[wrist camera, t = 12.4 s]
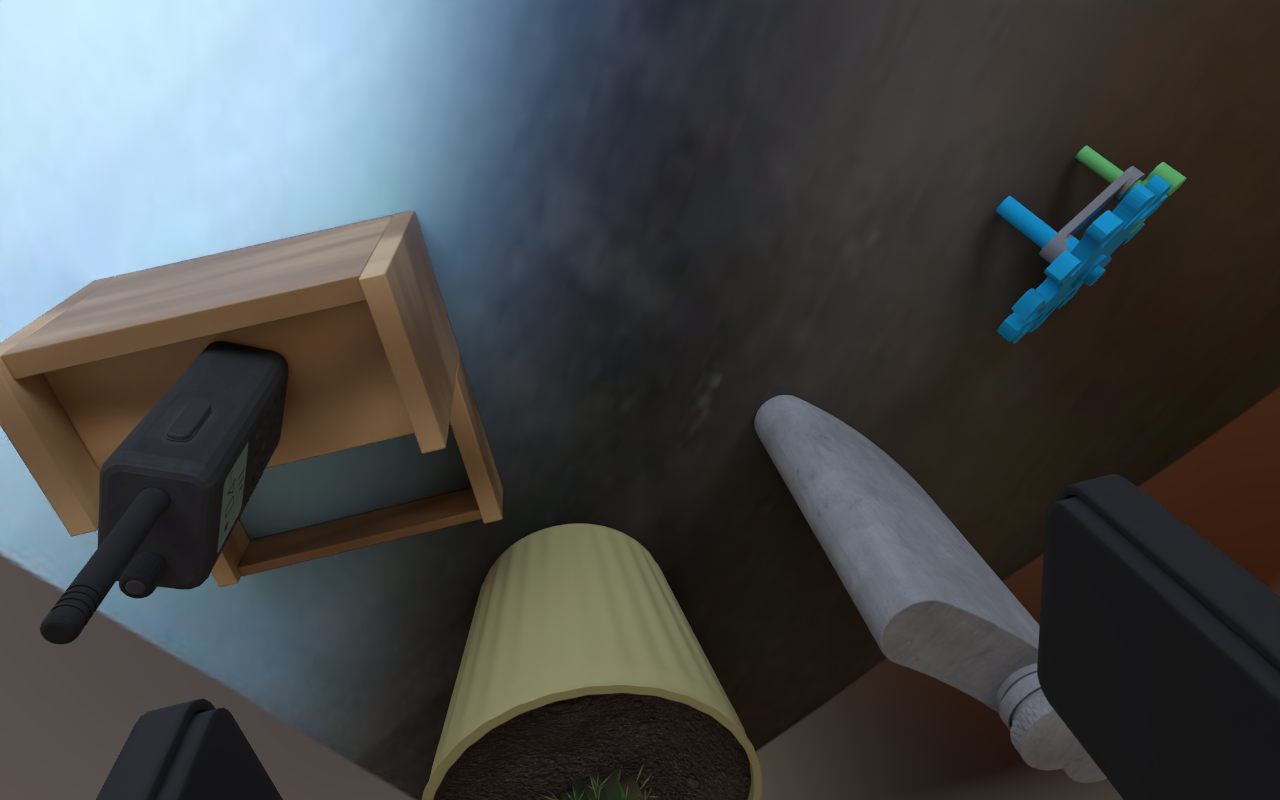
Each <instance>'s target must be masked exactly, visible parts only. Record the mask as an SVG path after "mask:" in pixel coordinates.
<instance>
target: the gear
mask: <svg viewBox="0 0 1280 800" xmlns="http://www.w3.org/2000/svg"><path fill="white" fill-rule="evenodd" d="M1076 159H1078V160H1079V161H1081V162H1082V163H1083V164H1085V165H1086V166H1087V167H1089V168H1090V169H1091V170H1093V171H1094V172H1096V173H1097V174H1098V175H1100V176H1101V177H1102V178H1104V179H1105V180H1106V181H1108V182H1109V183H1111V185H1110V186H1109V187H1107V188H1106V189H1105V190H1104V191H1103V192H1102V193H1101V194H1100V195H1099V196H1098V197H1096V198H1095V199H1094V200H1093V201H1092V202H1091V203H1090V204H1089V205H1088V206H1087V207H1086V208H1084V209H1083V210H1082V211H1081V212H1080V213H1079V214H1078V215H1077V216H1076V217H1075V218H1073V219H1072V220H1071V221H1070V222H1069V223H1068V224H1067V225H1066V226H1065V227H1064V228H1062V229H1061V230H1060V231H1059V232H1058V233H1057V232H1056V231H1055V230H1054V229H1052V228H1051V227H1050V226H1048V225H1047V224H1046V223H1045V222H1043V221H1042V220H1041V219H1039V218H1038V217H1037V216H1036V215H1034V214H1033V213H1032V212H1030V211H1029V210H1028V209H1027V208H1025V207H1024V206H1023V205H1021V204H1020V203H1019V202H1018V201H1016V200H1015V199H1014V198H1012V197H1011V196H1009V197H1007V198H1006V199H1005V200H1004V201H1003V202H1002V203H1001V204H1000V205H999V207H998V208H997V210H996V213H998V214H999V215H1000V216H1001V217H1003V218H1004V219H1005V220H1007V221H1008V222H1009V223H1010V224H1012V225H1013V226H1014V227H1015V228H1017V229H1018V230H1019V231H1020V232H1022V233H1023V234H1024V235H1025V236H1027V237H1028V238H1029V239H1030V240H1032V241H1033V242H1034V243H1035V244H1037V245H1038V246H1039V247H1040V248H1042V250H1041V251H1040V253H1039V255H1040V256H1041V257H1042V258H1043V259H1045V260H1046V261H1047V262H1048V263H1050V265H1049V266H1048V267H1047V268H1046V270H1045V271H1044V273H1045V274H1046V275H1047V276H1048V277H1047V278H1046V279H1045V281H1044V282H1043V283H1042V284H1041V285H1040V286H1039V287H1038V288H1037V289H1036V290H1034V289H1033V288H1031V289H1030V290H1028V291H1027V292H1026V293H1025V294H1024V295H1023V296H1022V297H1021V298H1020V299H1019V300H1018V301H1017V303H1016V304H1015V305H1014V306H1013V307H1012V308H1011V309H1012V310H1013V311H1014V313H1013V314H1011V315H1010V316H1009V317H1008V318H1007V319H1006V320H1004V322H1003V323H1002V324H1001V325H1000V327H999V328H998V330H997V332H998V333H999V334H1000V335H1001V336H1003V337H1004V338H1005V339H1006V340H1007V341H1008V342H1010V341H1011V342H1012V343H1013V344H1015V343H1017V342H1018V341H1019V340H1020V339H1021V338H1022V337H1023V336H1024V335H1025V334H1026V333H1027V332H1028V331H1029V332H1032V331H1034V330H1035V329H1037V328H1038V327H1039V326H1040V325H1041V324H1042V323H1043V322H1044V321H1045V320H1046V319H1047V317H1048V316H1049V315H1050V314H1051V313H1052V312H1053V311H1054V309H1055V308H1057V309H1059V308H1061V307H1062V306H1063V305H1064V304H1066V303H1067V302H1068V301H1069V300H1070V299H1071V298H1072V297H1073V296H1074V295H1075V294H1076V293H1077V291H1078V289H1079V288H1080V286H1081V285H1082V284H1083V283H1086V284H1087V285H1088V286H1091V285H1092V284H1093V283H1094V282H1096V281H1097V280H1098V279H1099V278H1100V277H1101V276H1102V275H1103V274H1104V272H1105V271H1106V270H1105V269H1104V267H1105V266H1106V265H1107V264H1108V263H1109V262H1110V261H1111V259H1112V258H1111V257H1110V255H1111V254H1112V253H1113V251H1114V250H1115V249H1116V248H1117V247H1118V246H1119V245H1120V244H1121V243H1123V244H1126V243H1127V242H1128V241H1129V240H1130V239H1131V238H1132V237H1133V236H1134V235H1135V234H1136V233H1137V232H1138V231H1139V230H1140V229H1141V228H1142V227H1143V226H1144V225H1145V224H1144V223H1143V222H1144V221H1145V219H1146V218H1147V217H1149V216H1150V215H1151V214H1152V213H1153V212H1154V211H1156V210H1157V208H1158V207H1159V206H1160V205H1161V204H1162V203H1163V202H1164V200H1165V199H1166V198H1167V197H1168V196H1170V195H1171V194H1172V193H1173V192H1174V191H1176V190H1177V189H1178V188H1179V187H1180V186H1181V185H1182V183H1183V182H1184V181H1185V180H1186V177H1184V176H1183V175H1181V174H1180V173H1178V172H1177V171H1176V170H1174V169H1173V168H1171V167H1170V166H1169V165H1167V164H1166V163H1164V162H1162V163H1161V164H1159V165H1158V166H1157V167H1156V168H1155V169H1154V170H1153V171H1152V172H1151V173H1150V174H1149V176H1148V177H1147V178H1146V179H1145V180H1144V181H1143V182H1142V181H1141V180H1142V179H1143V178H1144V176H1145V174H1144V173H1142V172H1141V171H1139V170H1138V169H1137V168H1135V167H1134V166H1131V167H1130V168H1129V169H1127V170H1126V171H1125V172H1123V171H1121V170H1120V169H1119V168H1117V167H1116V166H1115V165H1113V164H1112V163H1110V162H1109V161H1108V160H1106V159H1105V158H1103V157H1102V156H1101V155H1099V154H1098V153H1097V152H1095V151H1094V150H1092V149H1091V148H1090V147H1088V146H1085V147H1084V148H1083V149H1082V150H1081V151H1080V152H1079V153H1078V154H1077V156H1076ZM1167 195H1168V196H1167ZM1114 199H1115V200H1117V201H1118V202H1120V201H1121V200H1122V201H1121V202H1120V203H1119V204H1118V206H1117V207H1116V208H1115V209H1114V210H1113V211H1112V212H1110V211H1109V210H1108V211H1106V212H1105V213H1104V214H1102V215H1101V216H1100V217H1099V218H1098V219H1096V220H1095V221H1094V222H1093V223H1092V224H1091V225H1090V226H1089V227H1088V229H1087V230H1086V231H1085V234H1084V236H1083V237H1082V239H1081V240H1080V241H1079V240H1078V239H1076V238H1075V237H1074V236H1075V235H1076V234H1077V233H1078V232H1079V231H1080V230H1081V229H1082V228H1083V227H1084V226H1086V225H1087V224H1088V223H1089V222H1090V221H1091V220H1092V219H1093V218H1094V217H1096V216H1097V215H1098V214H1099V213H1100V212H1101V211H1102V210H1103V209H1104V208H1105V207H1107V206H1108V205H1109V204H1110V203H1111V202H1112V201H1113V200H1114Z"/></svg>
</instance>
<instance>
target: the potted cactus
mask: <svg viewBox="0 0 1280 800" xmlns="http://www.w3.org/2000/svg"><path fill="white" fill-rule="evenodd" d="M761 795H762V775H761V766H760V763H759V761H758V758H757V756H756V753H755V750H754V747H753V745H752V744H751V742H750V741H749V739H748V738H747V736H746V733H745V731H744V728H743V726H742V724H741V722H740V720H739V718H738V716H737V714H736V712H735V710H734V708H733V707H732V705H731V703H730V701H729V699H728V697H727V695H726V693H725V692H724V690H723V688H722V686H721V684H720V682H719V680H718V678H717V676H716V675H715V673H714V671H713V669H712V667H711V665H710V663H709V661H708V659H707V657H706V655H705V654H704V652H703V650H702V648H701V646H700V644H699V642H698V640H697V638H696V636H695V634H694V633H693V631H692V629H691V627H690V625H689V623H688V621H687V619H686V617H685V615H684V613H683V611H682V610H681V608H680V606H679V604H678V602H677V600H676V598H675V596H674V594H673V592H672V590H671V588H670V587H669V585H668V583H667V581H666V579H665V577H664V575H663V573H662V571H661V569H660V567H659V565H658V564H657V563H656V562H655V560H654V559H653V558H652V556H651V554H650V553H649V552H648V551H647V550H646V549H645V548H644V547H643V546H642V545H641V544H640V543H638V542H637V541H636V540H634V539H633V538H631V537H629V536H628V535H626V534H624V533H622V532H620V531H617V530H614V529H611V528H608V527H605V526H600V525H593V524H564V525H558V526H553V527H549V528H546V529H543V530H540V531H537V532H534V533H532V534H530V535H528V536H526V537H524V538H522V539H521V540H519V541H517V542H516V543H514V544H513V545H512V546H510V547H509V548H508V549H507V550H506V551H505V552H503V553H502V554H501V555H500V557H499V558H498V559H497V560H496V561H495V563H494V564H493V565H492V567H491V568H490V570H489V572H488V574H487V576H486V578H485V580H484V582H483V584H482V586H481V590H480V594H479V597H478V601H477V605H476V608H475V612H474V616H473V620H472V623H471V627H470V631H469V635H468V638H467V642H466V646H465V649H464V653H463V657H462V661H461V664H460V668H459V672H458V675H457V679H456V683H455V686H454V690H453V694H452V698H451V701H450V705H449V709H448V712H447V716H446V720H445V723H444V727H443V731H442V734H441V738H440V741H439V745H438V748H437V752H436V756H435V759H434V763H433V766H432V771H431V776H430V780H429V782H428V784H427V786H426V788H425V790H424V793H423V797H422V800H760V799H761Z"/></svg>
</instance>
